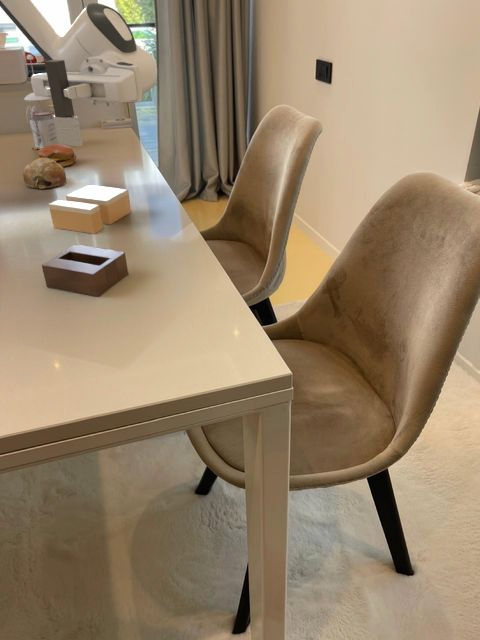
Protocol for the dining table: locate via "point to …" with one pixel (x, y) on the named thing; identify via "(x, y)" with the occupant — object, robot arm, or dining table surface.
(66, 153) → the burger
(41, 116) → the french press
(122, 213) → the cake
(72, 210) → the cake slice
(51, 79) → the cake knife
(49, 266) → the knife block
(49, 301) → the dining table surface
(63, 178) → the bread roll
